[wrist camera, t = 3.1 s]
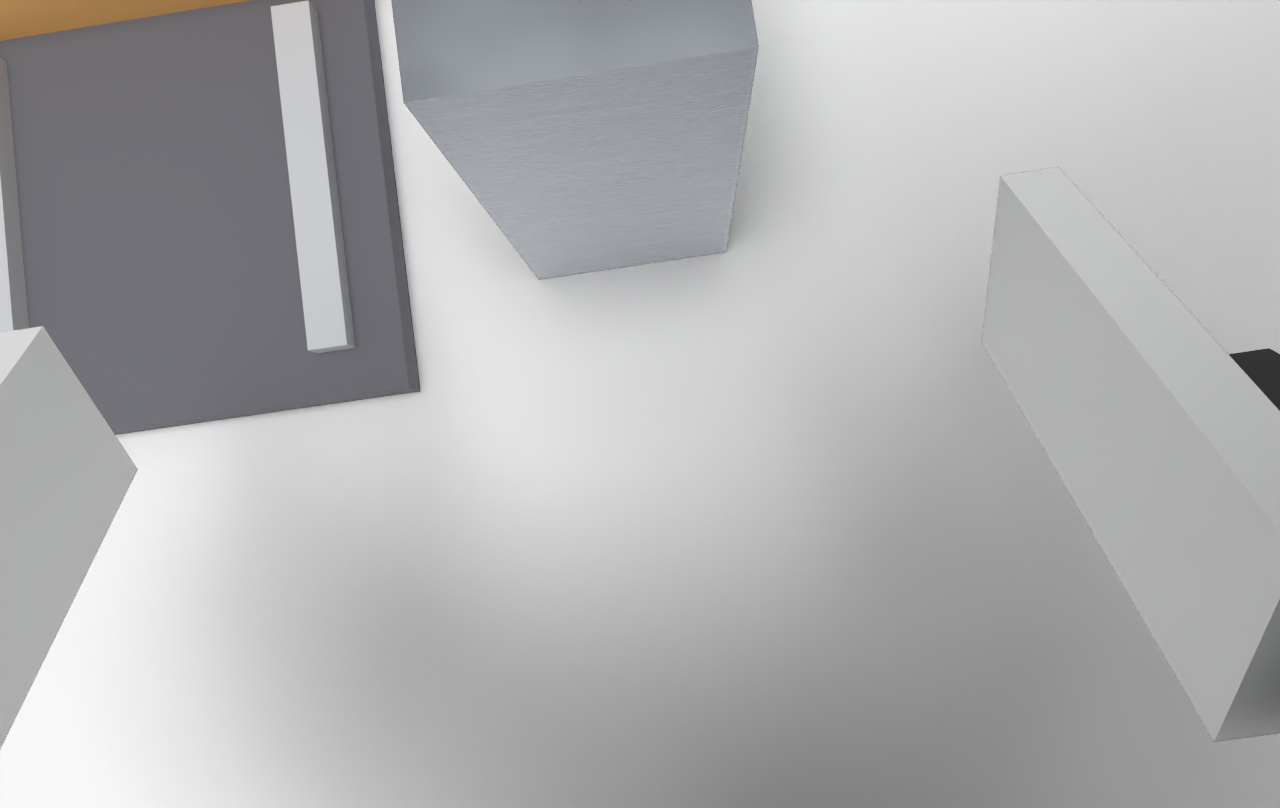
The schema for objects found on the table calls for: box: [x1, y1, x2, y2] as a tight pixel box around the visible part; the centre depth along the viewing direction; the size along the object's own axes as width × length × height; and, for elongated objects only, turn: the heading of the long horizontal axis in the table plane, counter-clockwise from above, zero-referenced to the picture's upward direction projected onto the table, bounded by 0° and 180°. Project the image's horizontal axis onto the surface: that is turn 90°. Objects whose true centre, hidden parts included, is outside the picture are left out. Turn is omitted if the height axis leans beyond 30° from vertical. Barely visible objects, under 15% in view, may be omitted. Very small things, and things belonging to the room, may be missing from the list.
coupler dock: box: [0, 0, 420, 435], centre depth 24 cm, size 12×12×4 cm
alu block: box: [392, 0, 758, 280], centre depth 20 cm, size 5×7×12 cm
